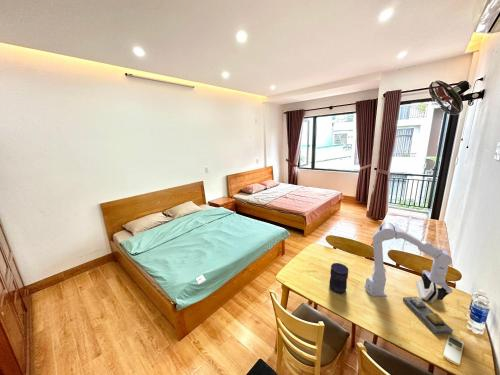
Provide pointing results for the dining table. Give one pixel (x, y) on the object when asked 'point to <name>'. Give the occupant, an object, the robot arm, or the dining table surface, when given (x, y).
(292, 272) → the dining table surface
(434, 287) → the white black rounded piece
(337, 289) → the storage jar
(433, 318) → the brass nut
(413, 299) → the zinc nut
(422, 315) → the grey recessed tray
